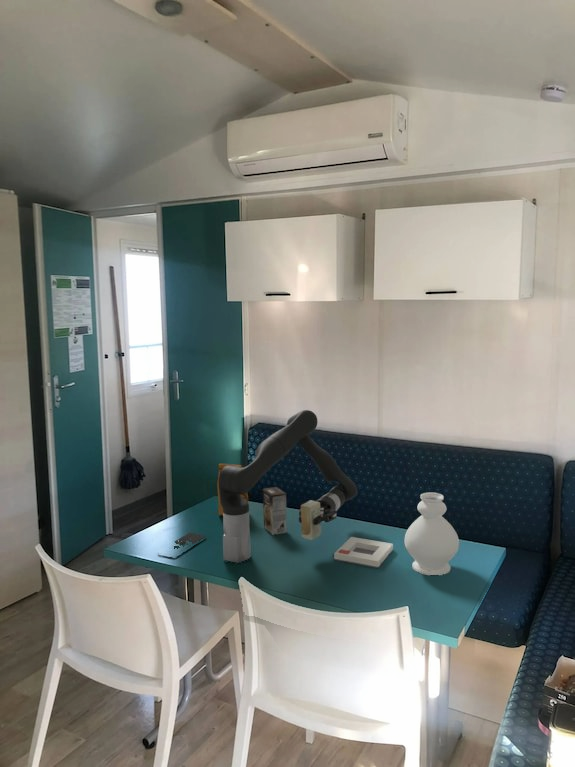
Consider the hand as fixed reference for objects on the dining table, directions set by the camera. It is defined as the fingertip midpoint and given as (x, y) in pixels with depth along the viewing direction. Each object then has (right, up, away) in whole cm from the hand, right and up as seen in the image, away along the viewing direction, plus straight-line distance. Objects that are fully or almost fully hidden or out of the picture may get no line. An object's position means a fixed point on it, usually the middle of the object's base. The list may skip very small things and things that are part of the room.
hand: (307, 521), depth 223 cm
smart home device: (-46, -13, +15) cm, 50 cm away
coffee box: (-12, -10, +29) cm, 33 cm away
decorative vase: (+41, -14, -7) cm, 44 cm away
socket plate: (+20, -13, +4) cm, 24 cm away
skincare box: (+1, -6, +3) cm, 7 cm away
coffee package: (-30, -7, +47) cm, 56 cm away
